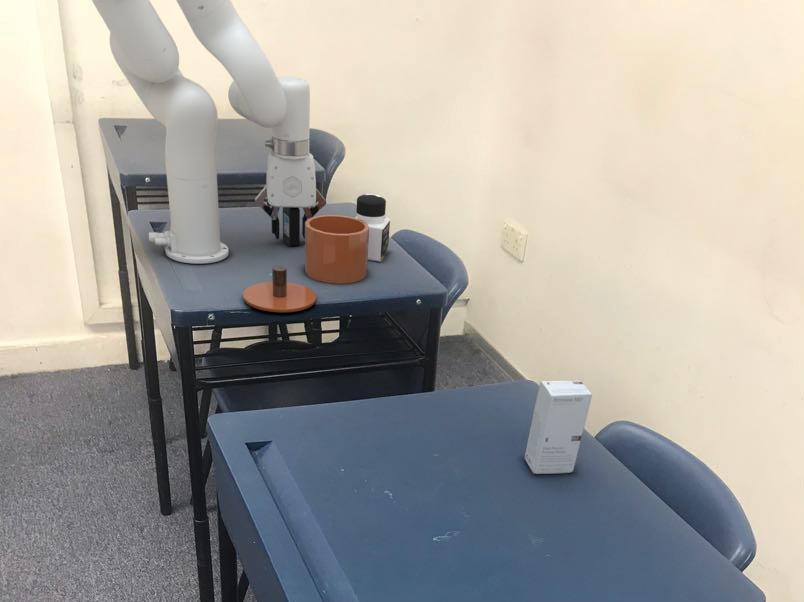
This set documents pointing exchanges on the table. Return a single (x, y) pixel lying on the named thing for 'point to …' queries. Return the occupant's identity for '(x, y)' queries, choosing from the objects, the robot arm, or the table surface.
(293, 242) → the ink cartridge
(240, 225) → the table surface
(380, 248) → the medicine bottle
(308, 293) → the lid
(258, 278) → the table surface
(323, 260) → the terracotta pot
